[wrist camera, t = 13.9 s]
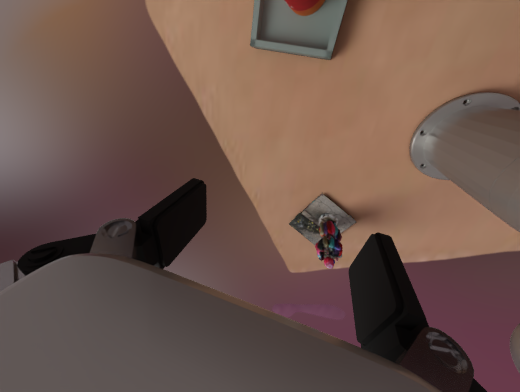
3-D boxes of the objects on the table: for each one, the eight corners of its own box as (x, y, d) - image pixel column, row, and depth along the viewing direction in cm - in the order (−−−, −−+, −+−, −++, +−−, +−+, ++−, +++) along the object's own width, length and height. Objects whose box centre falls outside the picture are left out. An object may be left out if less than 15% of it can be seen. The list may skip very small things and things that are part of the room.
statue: (322, 190, 41) (328, 229, 27) (354, 216, 41) (375, 267, 28) (289, 221, 46) (280, 267, 32) (318, 244, 46) (322, 298, 33)
